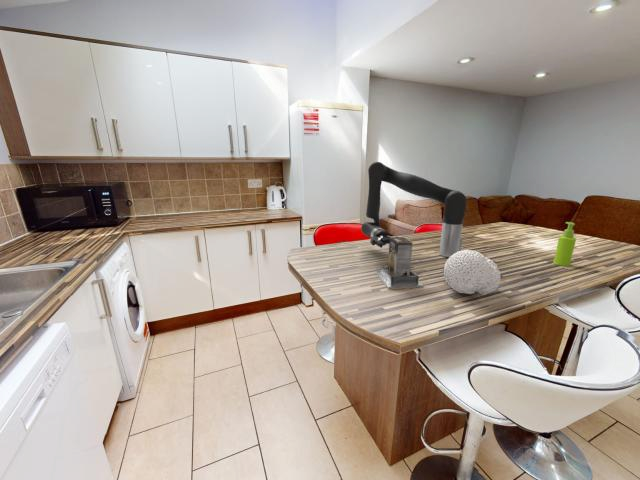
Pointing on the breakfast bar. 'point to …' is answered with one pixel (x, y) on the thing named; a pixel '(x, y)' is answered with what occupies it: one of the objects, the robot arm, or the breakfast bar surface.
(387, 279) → the clip bracket
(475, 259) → the white coral
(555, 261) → the soap dispenser
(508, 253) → the breakfast bar surface
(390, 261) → the coffee box
